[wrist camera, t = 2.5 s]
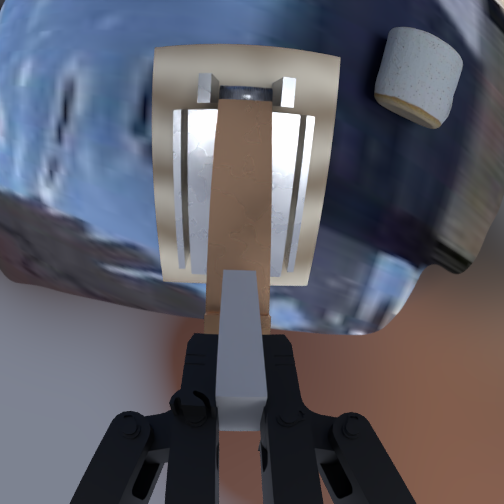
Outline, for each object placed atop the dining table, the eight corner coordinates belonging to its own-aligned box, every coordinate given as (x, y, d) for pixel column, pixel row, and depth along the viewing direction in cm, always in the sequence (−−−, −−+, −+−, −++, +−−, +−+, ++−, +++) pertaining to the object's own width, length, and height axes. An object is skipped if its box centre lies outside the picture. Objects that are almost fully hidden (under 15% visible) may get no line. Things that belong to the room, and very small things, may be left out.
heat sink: (182, 81, 20) (162, 75, 14) (308, 87, 20) (331, 83, 15) (186, 277, 30) (176, 319, 24) (284, 280, 30) (293, 322, 25)
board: (160, 51, 19) (154, 47, 18) (333, 60, 21) (340, 57, 19) (167, 271, 32) (163, 281, 30) (303, 275, 33) (307, 285, 31)
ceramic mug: (357, 99, 23) (398, 102, 16) (375, 32, 19) (418, 18, 12) (433, 137, 24) (479, 154, 18) (449, 78, 20) (496, 83, 14)
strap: (220, 93, 18) (220, 76, 16) (269, 96, 18) (273, 79, 16) (207, 341, 16) (204, 351, 14) (264, 343, 16) (269, 352, 14)
